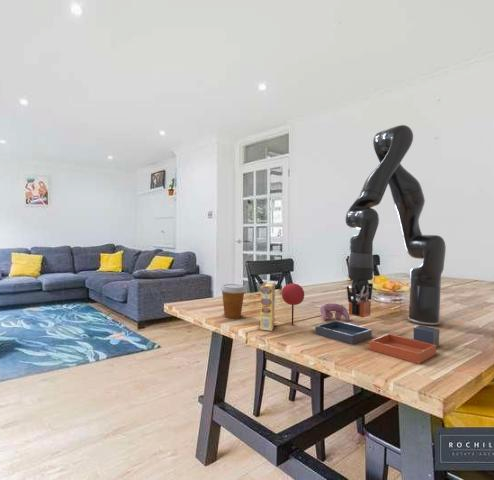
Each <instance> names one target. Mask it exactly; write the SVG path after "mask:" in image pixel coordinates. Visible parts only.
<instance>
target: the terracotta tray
mask: <svg viewBox="0 0 494 480" xmlns="http://www.w3.org/2000/svg"><path fill="white" fill-rule="evenodd" d="M368 349H369V350H370V351H374V352H377V353H380V354H383V355H387V356H391V357H395V358H397V359H401V360H405V361H407V362H410V363H411V362H412V363H415V364H418V365H419V364H422V363H424V362H425V361H426V360H428V359H430V358H432V357H433V356H435V355H437V347H436V345H434V344H430V343H425V342H421V341H417V340H413V338H409V337H404V336H400V335H397V334H392V333H386V334H383V335H381V336H378V337H375V338H373V339H371V340H369V348H368Z"/></svg>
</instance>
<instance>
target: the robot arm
mask: <svg viewBox="0 0 494 480" xmlns="http://www.w3.org/2000/svg"><path fill="white" fill-rule="evenodd" d="M372 141H373V142H372V146H373V149H374V152H375V155H376V157H377V159H378V162H379V164H378V165H377V166H376V167H375V168H374V169H373V170H372V171H371V173H370V174H369V175H368V176H367V178H366V179H365V181H364V183H363V186H362V188H361V191H360V193H359V196H358V197H357V198H356V199H355V200H354V202H353V203H352V204H351V205H350V207H349V208H348V210H347V212H346V214H345V224H346V226H347V227H348V228H349V229H353V230H355V229H356V230H359V232H358V234H357V235H353V236H351V237H350V239H349V255H348V274H347V275H348V279H351V280H352V281H351V285H346V293H347V302H348V303H349V302H351V303H352V314H354V315H359V304H360V300H366V301H370V300H372V296H373V295H372V294H373V287H374V283H372V282H369V281H371V280H373V278H374V257H373V256H374V254H373V252H374V246H373V245H374V239H375V236H376V233H377V230H378V227H379V224H380V215H379V213H378V211H377V210H376V209H374V207H377V206H378V205H380V204H381V202H382V200H383V198H384V195H385V192H386V190H387V187H389V190H390V193H391V197H392V200H393V201H392V202H393V204H394V206H395V209H396V211H397V215H398V219H399V222H400V227H401V231H402V236H403V240H404V247H405V250H406V252H407V254H408V255H409V257H411V258H414V259H419V260H423V261H422V264H421V265H420V266H417V267H414V268H411V269H410V276H409V277H410V278H409V280H410V281H409V301H408V303H409V304H408V317H407V318H408V319H407V320H408V321H409V322H411V323H414V324H417V325H421V326H430V327H431V326H432V327H433V326H434V327H435V326H439V325H440V312H441V308H440V307H441V289H442V288H441V287H442V274H443V272H444V268H445V258H446V251H447V250H446V248H447V247H446V246H447V245H446V241H445V240H444V238H443V237H442V236H440V235H437V234H423V233H422V231H421V227H420V217H421V214H422V213H423V209H424V206H425V203H426V202H425V201H426V199H425V195H424V192H423V187H422V185H421V183H420V182H419V180H418V179H417V178H416V177H415V176H414V175H413V174H411V172H409V171H408V170H407V169H406V168H405V167H404V166H403V165H402V164H401V163H402V161H403V159H404V158H405V156H406V155H407V153H408V152H409V150H410V148H411V146H412V145H413V141H414V132H413V130H412V129H411V128H410V127H409V125H406V124H400V125H396V126H393V127H390V128H387V129H384V130H381V131H379V132H377V133H376V134H375V135H374V136H373V140H372ZM354 315H353V316H354Z"/></svg>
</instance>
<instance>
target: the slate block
mask: <svg viewBox="0 0 494 480" xmlns="http://www.w3.org/2000/svg"><path fill="white" fill-rule="evenodd" d="M412 337H413V338H412V339H413V340H417V341H421V342H425V343H430V344H434V345H436V348H437V347H439V346H440V329H439V328H435V327H431V326H427V325H422V324H419V325H417V326H415V327H413V336H412Z"/></svg>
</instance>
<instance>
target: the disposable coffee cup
mask: <svg viewBox="0 0 494 480" xmlns="http://www.w3.org/2000/svg"><path fill="white" fill-rule="evenodd" d="M220 290H221V292H222V293H221V294H222V304H223V314H224V317H225V318H229V319H239V318H241V317H242V311H243V310H242V309H243V304H244V296H245V292H246V288H245V285H244V284H237V283H225V284H222V285H221V288H220Z"/></svg>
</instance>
